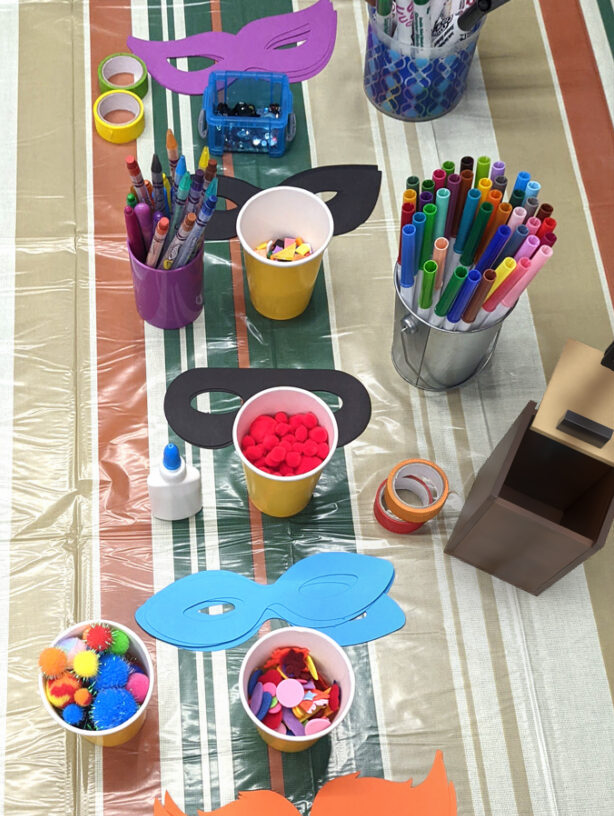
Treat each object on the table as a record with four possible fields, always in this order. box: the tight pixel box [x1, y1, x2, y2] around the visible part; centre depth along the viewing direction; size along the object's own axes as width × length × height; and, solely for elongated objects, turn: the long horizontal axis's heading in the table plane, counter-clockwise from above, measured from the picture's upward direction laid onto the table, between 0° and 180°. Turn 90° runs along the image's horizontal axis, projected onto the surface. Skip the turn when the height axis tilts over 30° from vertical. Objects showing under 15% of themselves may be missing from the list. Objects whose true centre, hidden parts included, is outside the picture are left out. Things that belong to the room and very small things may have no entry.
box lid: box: [530, 337, 614, 467], centre depth 92 cm, size 10×12×3 cm
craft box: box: [443, 399, 614, 597], centre depth 98 cm, size 12×12×19 cm
